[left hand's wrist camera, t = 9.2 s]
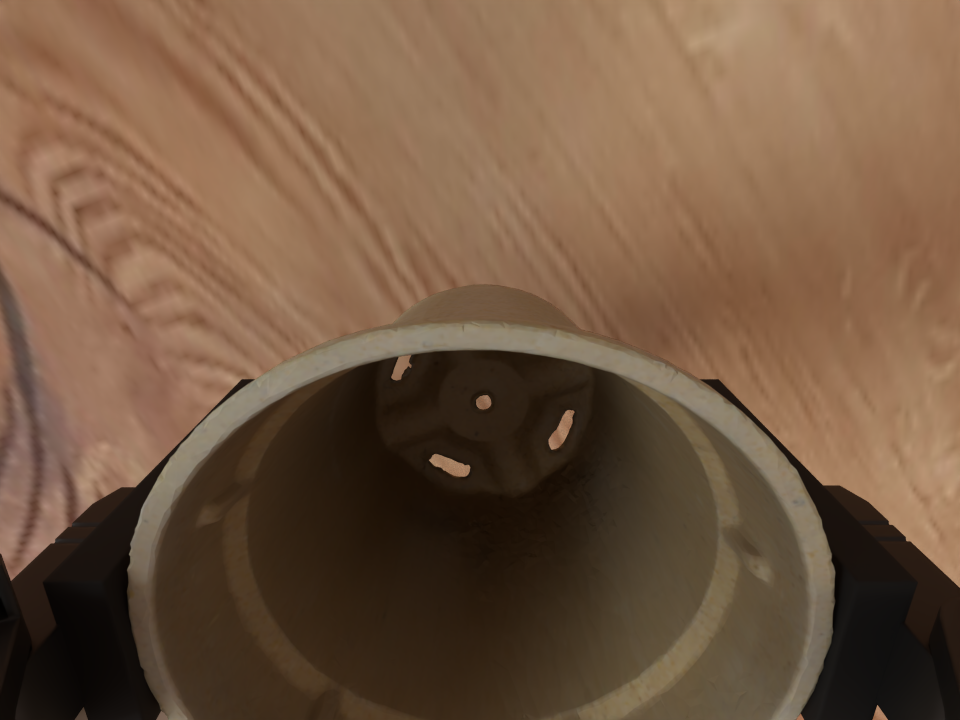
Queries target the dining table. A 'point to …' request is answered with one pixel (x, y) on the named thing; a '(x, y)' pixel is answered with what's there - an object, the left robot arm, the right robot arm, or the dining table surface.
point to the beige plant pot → (480, 537)
